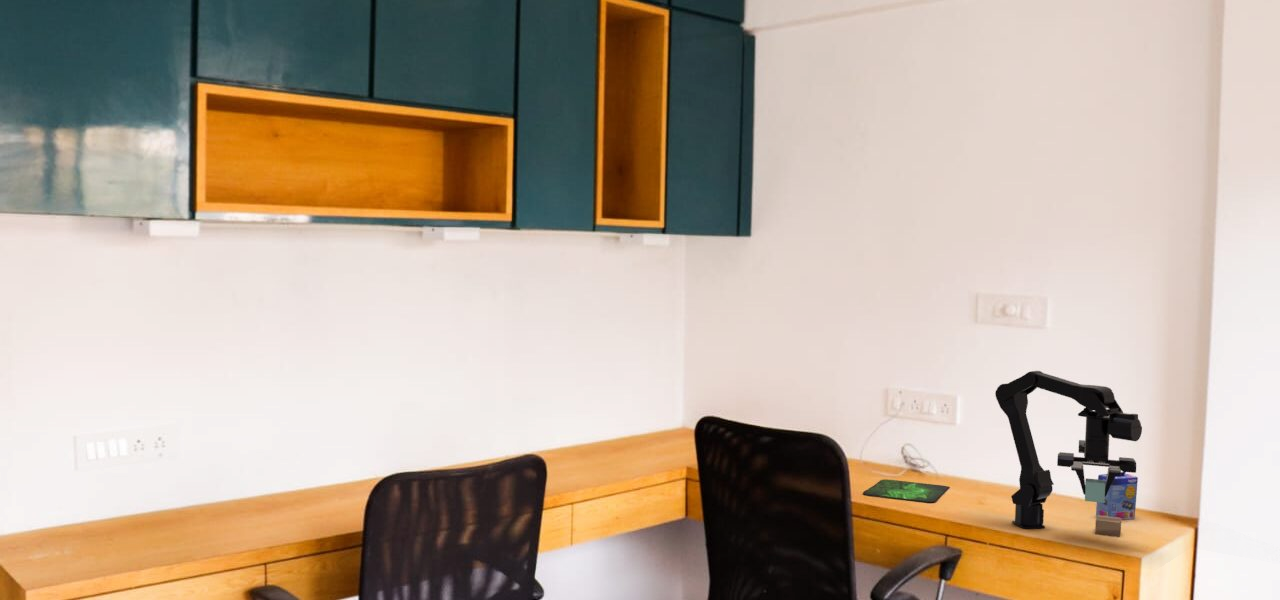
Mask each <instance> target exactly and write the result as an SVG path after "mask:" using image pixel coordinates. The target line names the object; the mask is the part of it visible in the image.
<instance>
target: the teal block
mask: <svg viewBox="0 0 1280 600" xmlns="http://www.w3.org/2000/svg"><path fill="white" fill-rule="evenodd" d="M1084 501H1085V502H1093V503H1097V502H1100V503H1104V501H1105V480H1098V478H1097V479H1096V478H1085V495H1084Z"/></svg>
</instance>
